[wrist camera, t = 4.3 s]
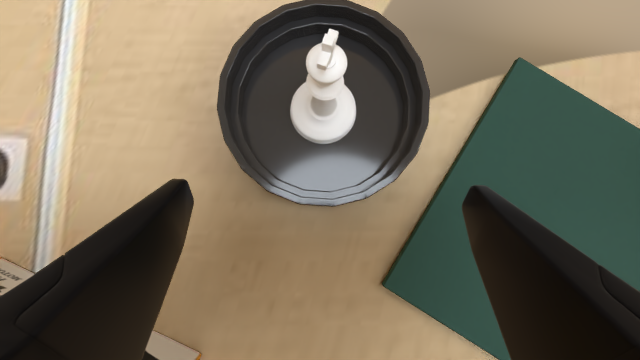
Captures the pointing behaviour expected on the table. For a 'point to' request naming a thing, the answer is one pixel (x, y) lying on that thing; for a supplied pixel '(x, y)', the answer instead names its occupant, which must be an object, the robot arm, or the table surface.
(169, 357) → the packaging box
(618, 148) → the desk mat
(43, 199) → the table surface
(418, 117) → the dish
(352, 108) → the chess piece
